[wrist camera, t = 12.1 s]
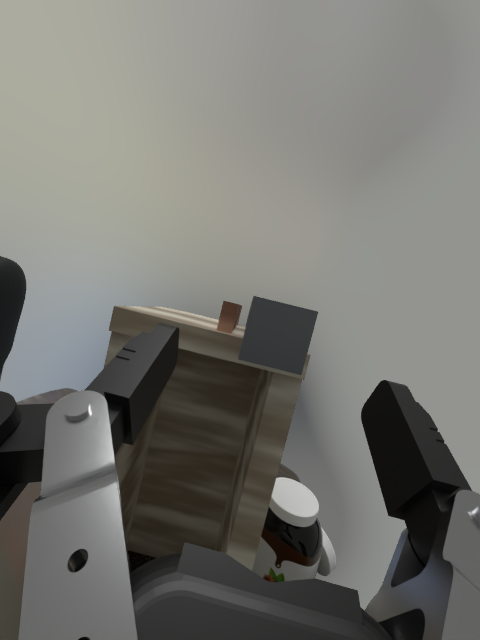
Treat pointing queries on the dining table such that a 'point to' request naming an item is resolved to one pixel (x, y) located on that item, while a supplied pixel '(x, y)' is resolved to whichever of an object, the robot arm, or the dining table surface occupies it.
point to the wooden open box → (203, 439)
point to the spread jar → (293, 537)
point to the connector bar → (277, 335)
